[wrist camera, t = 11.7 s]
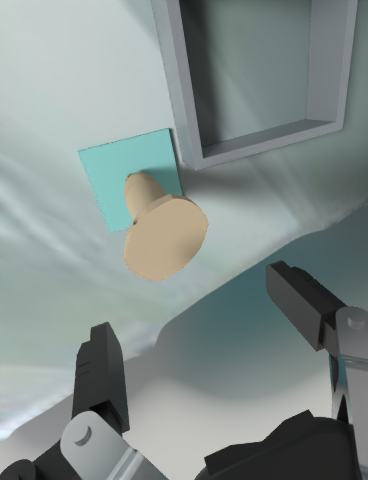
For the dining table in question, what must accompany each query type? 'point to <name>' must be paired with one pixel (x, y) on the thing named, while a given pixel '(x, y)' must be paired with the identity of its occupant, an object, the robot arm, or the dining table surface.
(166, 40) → the case
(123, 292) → the dining table surface
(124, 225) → the pad
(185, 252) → the handle
